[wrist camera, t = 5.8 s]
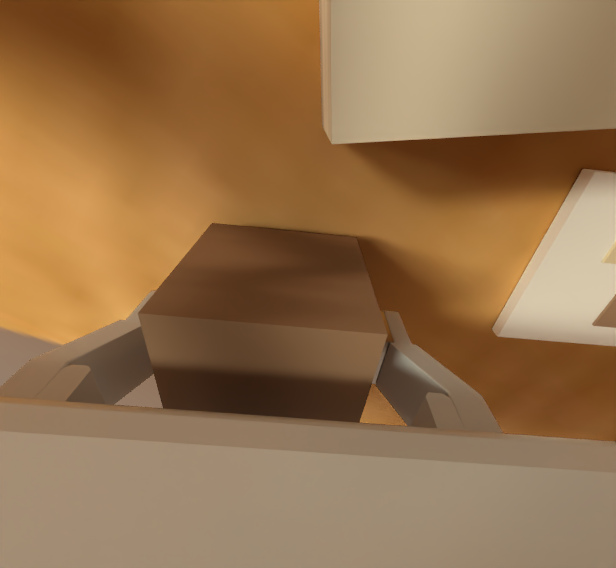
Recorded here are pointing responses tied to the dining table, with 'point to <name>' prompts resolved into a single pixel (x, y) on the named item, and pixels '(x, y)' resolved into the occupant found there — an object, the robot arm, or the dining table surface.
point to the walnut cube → (266, 326)
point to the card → (571, 272)
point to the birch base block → (465, 68)
